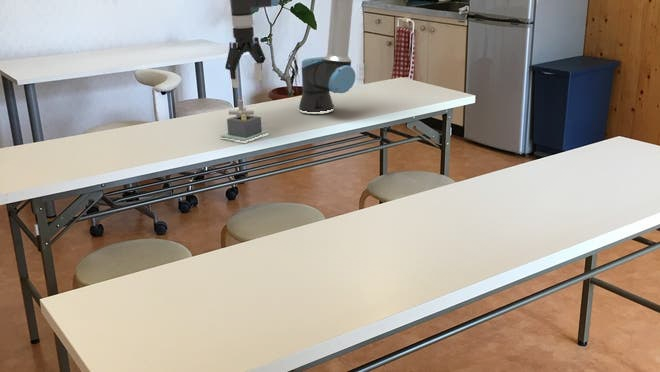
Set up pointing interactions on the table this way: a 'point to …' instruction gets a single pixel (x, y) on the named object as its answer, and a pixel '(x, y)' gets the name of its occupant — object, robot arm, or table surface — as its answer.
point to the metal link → (244, 126)
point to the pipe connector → (241, 110)
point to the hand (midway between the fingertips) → (247, 83)
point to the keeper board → (243, 117)
